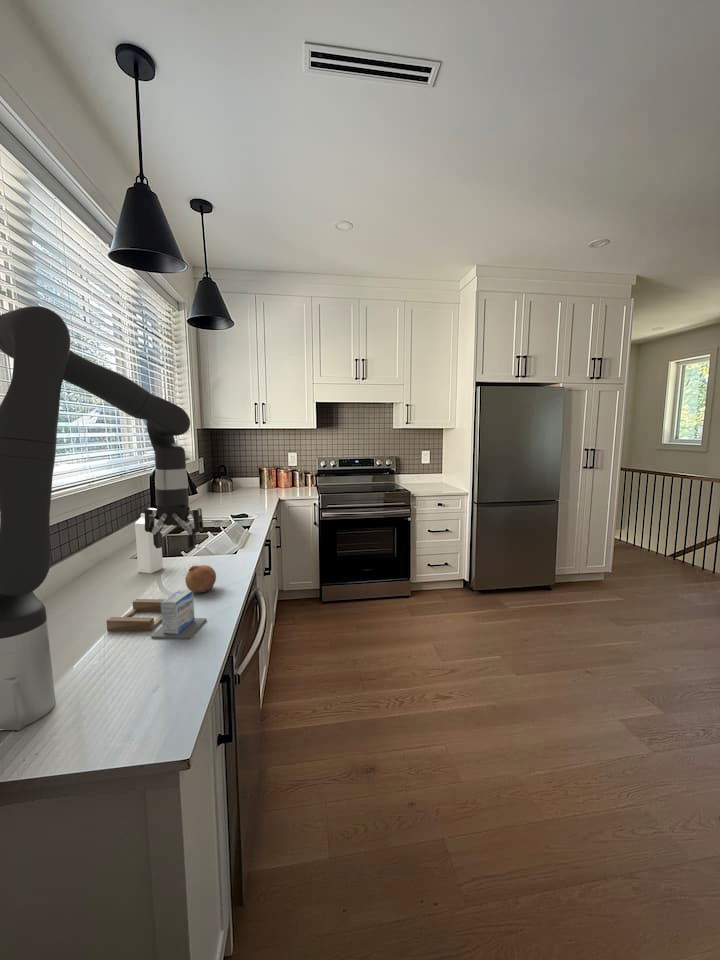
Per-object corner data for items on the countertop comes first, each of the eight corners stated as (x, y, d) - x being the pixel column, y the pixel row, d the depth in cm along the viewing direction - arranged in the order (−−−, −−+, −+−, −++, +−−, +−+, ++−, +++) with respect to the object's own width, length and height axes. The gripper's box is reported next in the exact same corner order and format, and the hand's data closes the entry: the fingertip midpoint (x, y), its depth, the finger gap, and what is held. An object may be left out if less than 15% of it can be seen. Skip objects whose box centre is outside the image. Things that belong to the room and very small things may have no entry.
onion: (190, 602, 129) (173, 578, 126) (206, 584, 137) (191, 561, 134) (211, 596, 125) (194, 571, 122) (227, 578, 134) (211, 554, 131)
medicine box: (177, 635, 101) (176, 602, 100) (162, 633, 102) (159, 601, 101) (195, 620, 109) (193, 590, 108) (180, 619, 109) (178, 589, 108)
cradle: (150, 631, 104) (149, 621, 103) (107, 631, 104) (106, 620, 104) (175, 609, 117) (174, 599, 117) (137, 608, 117) (136, 598, 117)
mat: (190, 639, 100) (189, 636, 100) (151, 638, 101) (151, 636, 100) (206, 620, 110) (206, 618, 110) (171, 619, 110) (171, 617, 110)
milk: (150, 567, 154) (147, 511, 151) (163, 568, 152) (159, 512, 149) (137, 572, 148) (133, 514, 145) (150, 573, 146) (146, 515, 144)
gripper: (136, 488, 97) (140, 551, 99) (192, 488, 97) (195, 552, 99) (152, 484, 105) (156, 543, 106) (205, 484, 104) (208, 544, 106)
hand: (175, 547), depth 103 cm, fingers open, 8 cm apart
